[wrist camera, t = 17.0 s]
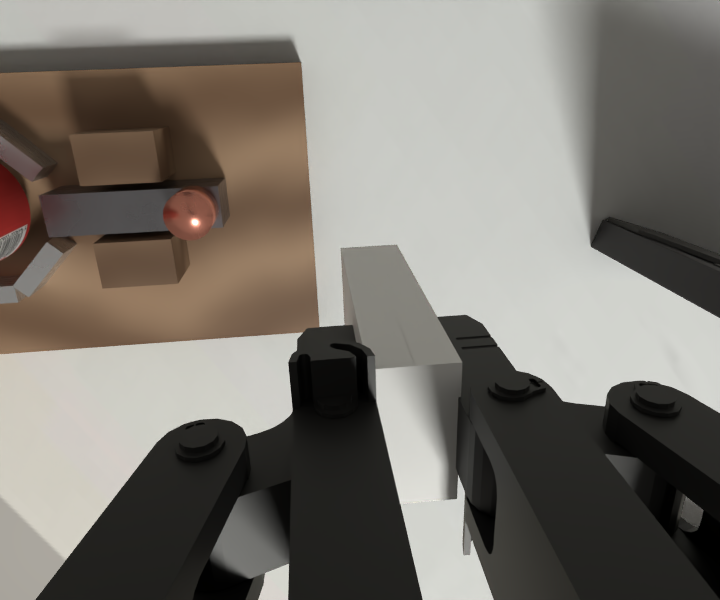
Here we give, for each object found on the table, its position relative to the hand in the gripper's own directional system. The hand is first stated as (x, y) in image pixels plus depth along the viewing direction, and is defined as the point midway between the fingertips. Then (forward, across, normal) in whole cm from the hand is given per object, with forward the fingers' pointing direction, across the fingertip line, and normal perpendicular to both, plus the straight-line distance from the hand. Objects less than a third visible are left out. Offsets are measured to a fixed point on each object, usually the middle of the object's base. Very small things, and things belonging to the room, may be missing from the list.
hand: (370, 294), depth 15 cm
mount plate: (+20, -14, -2) cm, 24 cm away
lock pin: (+19, -11, -1) cm, 22 cm away
